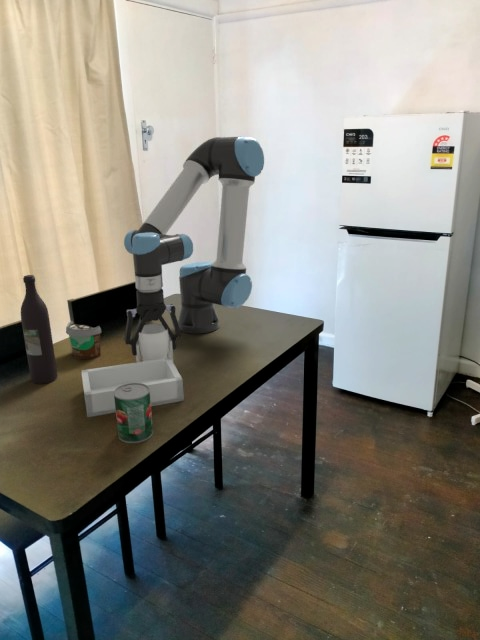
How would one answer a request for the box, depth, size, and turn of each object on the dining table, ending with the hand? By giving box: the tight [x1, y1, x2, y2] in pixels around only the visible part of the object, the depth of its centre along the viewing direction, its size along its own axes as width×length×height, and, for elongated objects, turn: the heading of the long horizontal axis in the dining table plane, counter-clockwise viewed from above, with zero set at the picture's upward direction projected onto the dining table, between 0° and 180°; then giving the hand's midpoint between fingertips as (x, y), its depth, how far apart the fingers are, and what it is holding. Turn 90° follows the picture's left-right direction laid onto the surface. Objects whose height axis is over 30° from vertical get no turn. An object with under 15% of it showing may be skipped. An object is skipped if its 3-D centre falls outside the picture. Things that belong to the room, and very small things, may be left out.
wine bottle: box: [20, 274, 58, 385], centre depth 139 cm, size 7×7×30 cm
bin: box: [80, 356, 185, 418], centre depth 133 cm, size 24×15×6 cm, turn 109°
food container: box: [65, 320, 102, 360], centre depth 158 cm, size 12×6×10 cm, turn 62°
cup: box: [137, 323, 170, 362], centre depth 149 cm, size 9×9×12 cm
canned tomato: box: [114, 383, 154, 444], centre depth 115 cm, size 8×8×11 cm
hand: (155, 362), depth 151 cm, fingers closed on cup, 9 cm apart
